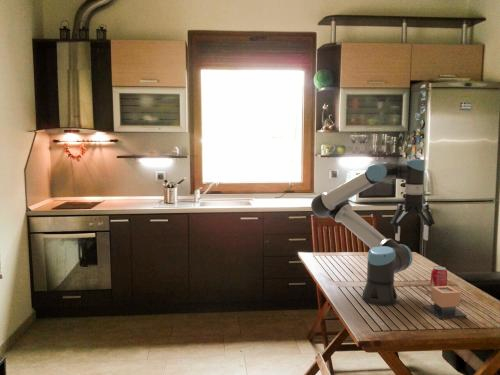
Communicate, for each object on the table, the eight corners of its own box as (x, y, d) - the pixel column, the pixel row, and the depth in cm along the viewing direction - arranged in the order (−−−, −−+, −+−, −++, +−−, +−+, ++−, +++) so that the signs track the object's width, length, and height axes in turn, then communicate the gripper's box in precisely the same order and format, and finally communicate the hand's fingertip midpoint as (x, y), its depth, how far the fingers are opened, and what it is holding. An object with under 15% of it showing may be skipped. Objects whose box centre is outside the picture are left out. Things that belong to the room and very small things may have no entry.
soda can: (433, 288, 213) (435, 264, 212) (448, 292, 208) (450, 268, 207) (427, 292, 208) (428, 267, 207) (442, 296, 203) (444, 271, 202)
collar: (441, 307, 179) (442, 293, 178) (430, 300, 187) (431, 286, 186) (459, 306, 180) (460, 292, 179) (448, 299, 188) (449, 285, 187)
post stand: (438, 318, 177) (440, 296, 176) (423, 307, 189) (424, 286, 188) (466, 317, 179) (467, 295, 178) (449, 306, 191) (450, 285, 190)
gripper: (391, 194, 191) (389, 242, 193) (444, 194, 194) (441, 241, 197) (383, 192, 198) (381, 238, 201) (435, 192, 202) (432, 237, 204)
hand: (411, 240), depth 199 cm, fingers open, 13 cm apart
